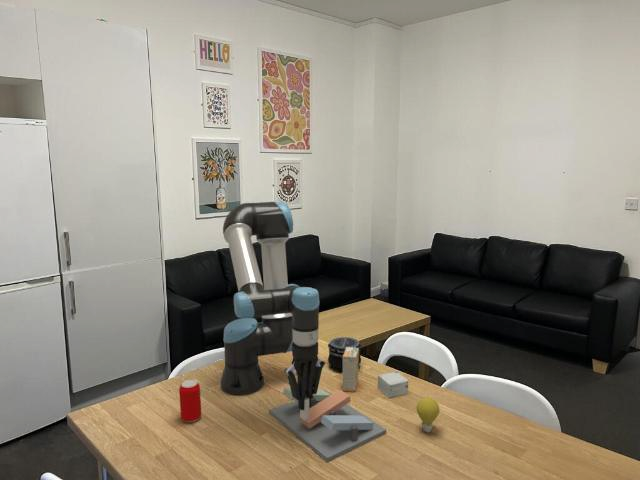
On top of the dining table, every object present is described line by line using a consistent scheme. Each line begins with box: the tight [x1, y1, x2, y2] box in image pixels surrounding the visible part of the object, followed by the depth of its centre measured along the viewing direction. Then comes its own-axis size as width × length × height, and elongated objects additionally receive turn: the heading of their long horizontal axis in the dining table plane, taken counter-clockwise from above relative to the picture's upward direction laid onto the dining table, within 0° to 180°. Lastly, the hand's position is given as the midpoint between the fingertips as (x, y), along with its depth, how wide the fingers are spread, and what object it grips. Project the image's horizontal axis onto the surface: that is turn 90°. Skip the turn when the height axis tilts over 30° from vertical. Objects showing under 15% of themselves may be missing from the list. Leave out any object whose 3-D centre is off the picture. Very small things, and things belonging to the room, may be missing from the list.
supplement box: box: [341, 347, 359, 393], centre depth 168 cm, size 8×5×13 cm, turn 168°
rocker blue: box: [321, 415, 374, 431], centre depth 138 cm, size 6×16×2 cm, turn 127°
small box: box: [377, 371, 409, 399], centre depth 165 cm, size 8×8×5 cm
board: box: [269, 389, 387, 463], centre depth 146 cm, size 30×22×5 cm
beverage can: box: [178, 379, 202, 423], centre depth 148 cm, size 6×6×12 cm
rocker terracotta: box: [299, 389, 352, 429], centre depth 145 cm, size 6×16×2 cm, turn 127°
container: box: [327, 336, 362, 374], centre depth 183 cm, size 13×13×10 cm
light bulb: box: [416, 397, 440, 433], centre depth 142 cm, size 7×7×10 cm
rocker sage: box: [282, 387, 330, 401], centre depth 153 cm, size 6×16×2 cm, turn 127°
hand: (304, 418), depth 141 cm, fingers closed
